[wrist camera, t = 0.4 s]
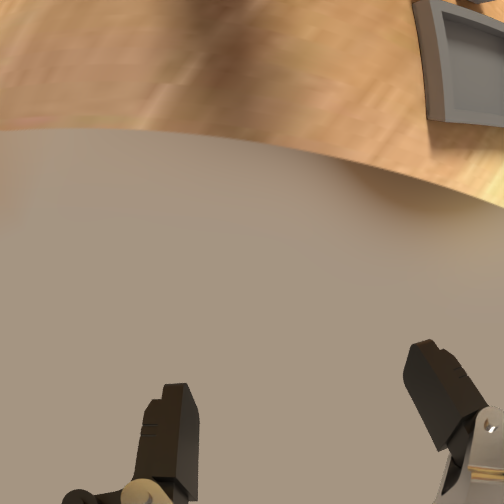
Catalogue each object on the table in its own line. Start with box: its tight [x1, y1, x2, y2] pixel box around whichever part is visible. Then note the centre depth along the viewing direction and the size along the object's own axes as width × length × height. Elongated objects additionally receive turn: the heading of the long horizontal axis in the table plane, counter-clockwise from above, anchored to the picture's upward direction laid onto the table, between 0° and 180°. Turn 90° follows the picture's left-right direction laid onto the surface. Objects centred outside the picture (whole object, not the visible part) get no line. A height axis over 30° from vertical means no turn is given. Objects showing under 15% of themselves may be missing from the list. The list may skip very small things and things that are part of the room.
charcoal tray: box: [412, 0, 504, 127], centre depth 27 cm, size 16×20×4 cm
